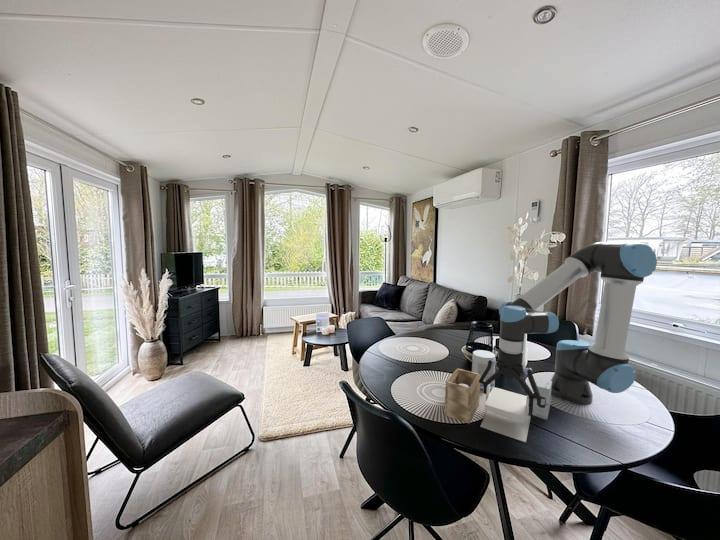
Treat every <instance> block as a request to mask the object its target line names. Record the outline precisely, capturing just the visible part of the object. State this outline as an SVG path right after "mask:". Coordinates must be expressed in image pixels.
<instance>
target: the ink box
mask: <svg viewBox="0 0 720 540" xmlns="http://www.w3.org/2000/svg"><path fill="white" fill-rule="evenodd" d="M535 382H536V385H537V388H538V390H539V393H540V398H539V399H537V398H535V399H533V407H532V413H531V414H532V416H534V417H537V418H540V419H544V420H548V418H549V413H550V409H551V399H552V394H551V388H552V381H551V380H549V379H546V378H545V379H544V378H541V377H537V380H536V381H535Z"/></svg>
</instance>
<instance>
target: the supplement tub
mask: <svg viewBox="0 0 720 540" xmlns="http://www.w3.org/2000/svg"><path fill="white" fill-rule="evenodd" d="M471 358H472V359H471V361H472V362H471V372H474V373H478V374H480V378H481V376H482V374H483V373H484V371H485V370H486V368H487V366H488V361H489V359H493V360H494V361H496V354H495V353H493V352H491V351H489V350H483V349H475V350H474V351H472V357H471ZM495 372H496V365H494V366H492V367H491V369H490V370H489V372H488V374H487V375H486V377H485V378H484V380H487V379H488V378H489V377H491V376H492V375H493V374H494V373H495ZM495 383H496V381H495V379H494V380H493V381H492V382H491V383H490V390H492V388H493V387H495V385H496V384H495ZM480 390H484V385H483V384H482V383H480Z"/></svg>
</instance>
